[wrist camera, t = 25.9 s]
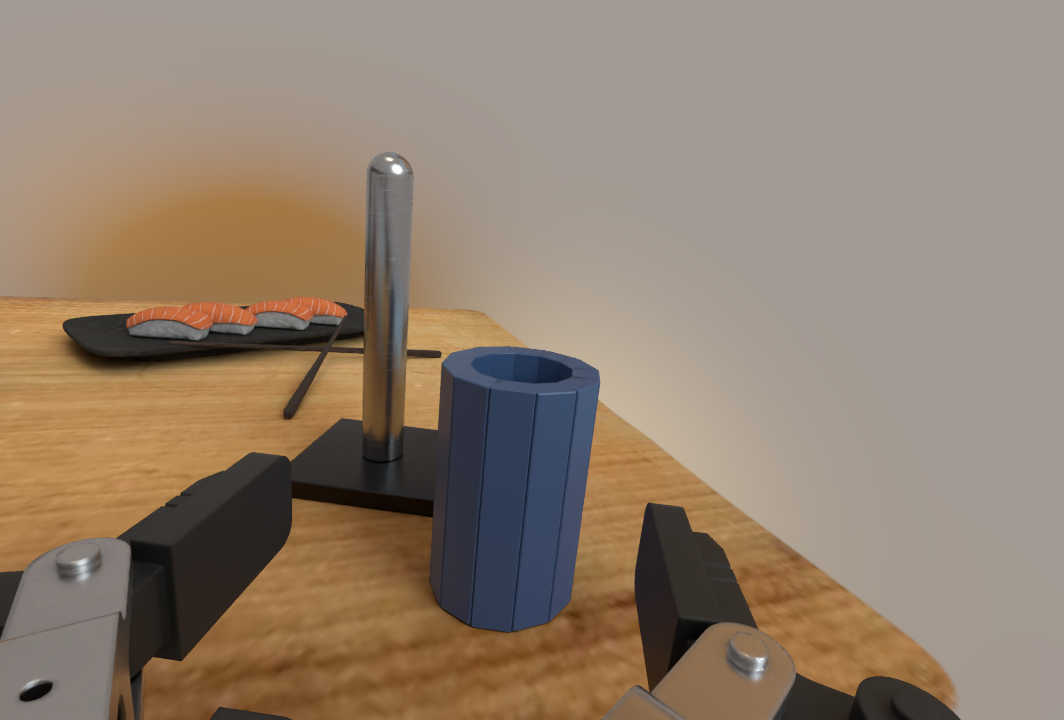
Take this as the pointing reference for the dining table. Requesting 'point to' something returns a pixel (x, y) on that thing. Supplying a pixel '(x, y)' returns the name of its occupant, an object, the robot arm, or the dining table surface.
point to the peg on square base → (378, 374)
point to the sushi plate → (225, 332)
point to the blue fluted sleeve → (510, 483)
